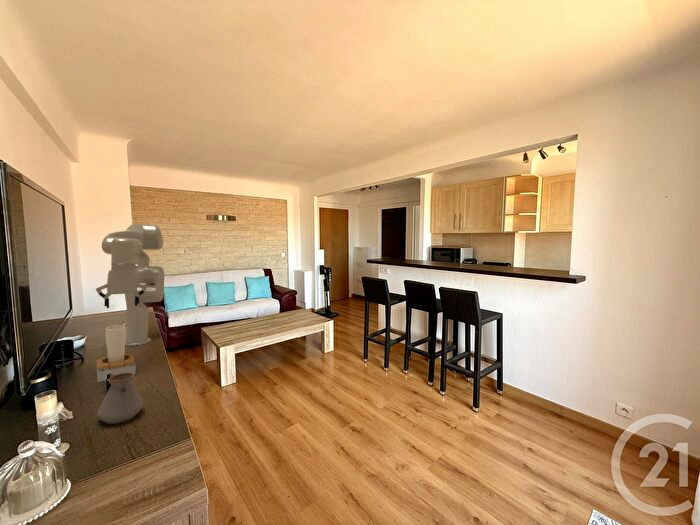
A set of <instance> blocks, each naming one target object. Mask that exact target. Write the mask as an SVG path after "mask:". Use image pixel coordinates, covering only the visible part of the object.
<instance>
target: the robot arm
mask: <svg viewBox="0 0 700 525" xmlns="http://www.w3.org/2000/svg"><path fill="white" fill-rule="evenodd" d="M163 246H164V239H163V234H162V231H161V229H160V227H159V226H158V225H156V224H144V223H132V224H131V225H129V226H128V227H127V228H126V229H125V230H120V231H114V232H111V233H109V234H106V236H104V238H103V239H102V241H101V250H102V251H103V253H104V254H107V255H111V256H110V257H111V262H110V265H111V267H110V269H111V270H108V272H107V273H108V274H107V277H106V278H107V279H106V280H107V281H106V284H104V285H100V286H99V287H96V288H95V292H96V293H97V294H98V296H100V297H101V298H102V299H104V307H106V309H110V298H109V297H110V296H111V295H123V294H124V298H125V305H126V306H125V307H126V322H125V324H126V325H125V326H126V342H125V345H126V346H125V347H133V346H136V345H137V346H141V345H145V344H149V343H150V342H151V341H152V339H151V337H148V334H149V333H148V332H149V309H148V308H147V306H146V304H145V303H158V302H162V301H163V299H164V294H165V270H164V268H163V267H162V266H155V265H154V266H153V265H151V266H150V264H151V263H150V261H151V259H150V256H149V255H148V254H147V253H146V252H145V251H144V250H149V251H151V250H153V251H155V250H156V251H158V250H161V249H162V248H163ZM104 289H106V293H103V291H102V290H104Z"/></svg>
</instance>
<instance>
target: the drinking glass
mask: <svg viewBox="0 0 700 525" xmlns="http://www.w3.org/2000/svg"><path fill="white" fill-rule="evenodd" d="M104 335H105V345H106V353H107V356H108V363H115V362H121V361H124V354H126V353H125V350H126V346H125V342H126V325H125V324H115V325H110V326H106V327H105V334H104Z"/></svg>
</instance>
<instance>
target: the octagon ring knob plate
mask: <svg viewBox="0 0 700 525" xmlns="http://www.w3.org/2000/svg"><path fill="white" fill-rule="evenodd" d="M110 373H111V374H113V375H117V374H121V373H133V374H134V376H136V375H135V374H137V365H136V362H135V355H134V354H133V353H124V361H121V362H115V363H108V355H107V356H104V357H102V358H99V359H96V377H97V383H101V382H106V379H107V375H108V374H110Z"/></svg>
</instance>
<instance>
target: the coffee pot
mask: <svg viewBox="0 0 700 525" xmlns="http://www.w3.org/2000/svg"><path fill="white" fill-rule="evenodd" d="M134 377H135V375H134V374H133V373H121V374H117V375H114V376H112V377H110V378H109V379H107V382H108V383H109V384H110V387H109V389H108V390H107V393H106V395H105V396H104V399H103V401H102V403H101V404H100V406H99V408H98V410H97V412H96V413H97V417H98V418H99V420H101V421H102V422H105V423H107V424H113V425H114V424H120V423H121V424H122V423H124V422H127V421H129V420H131V419H133V418H134V417H135V416H136V415H137V414H138V413H139V412H140V411H141V410H142V408H143V406H144V400H143V398H142V397H141V395H140V394H139V392H138V390H137V389H136V387H135V384H134V383H133V382H132V381H133V378H134Z"/></svg>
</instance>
